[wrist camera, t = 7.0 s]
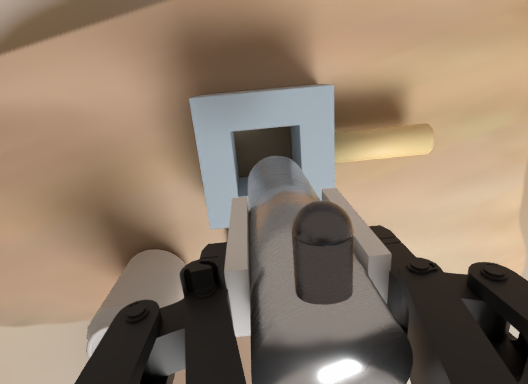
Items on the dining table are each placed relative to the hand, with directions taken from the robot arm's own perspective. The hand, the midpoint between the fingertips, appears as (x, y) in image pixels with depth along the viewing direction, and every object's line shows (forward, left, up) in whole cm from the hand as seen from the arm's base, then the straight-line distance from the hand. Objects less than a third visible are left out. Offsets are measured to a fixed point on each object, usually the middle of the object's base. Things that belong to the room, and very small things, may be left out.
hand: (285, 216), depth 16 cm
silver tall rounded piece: (0, 0, -6) cm, 6 cm away
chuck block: (+5, 0, -18) cm, 18 cm away
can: (-14, -14, -18) cm, 27 cm away
